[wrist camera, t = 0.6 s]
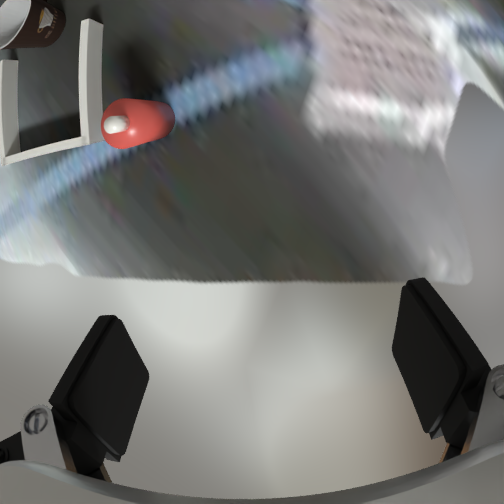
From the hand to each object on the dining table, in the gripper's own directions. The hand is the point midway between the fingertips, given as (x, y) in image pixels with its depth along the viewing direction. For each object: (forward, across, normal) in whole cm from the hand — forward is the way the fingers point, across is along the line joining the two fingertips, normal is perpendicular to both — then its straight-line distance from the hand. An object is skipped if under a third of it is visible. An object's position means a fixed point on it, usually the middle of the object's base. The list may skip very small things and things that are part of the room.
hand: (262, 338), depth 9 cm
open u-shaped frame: (+30, +28, -18) cm, 44 cm away
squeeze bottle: (+30, +12, -9) cm, 33 cm away
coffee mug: (+30, +26, -31) cm, 50 cm away
